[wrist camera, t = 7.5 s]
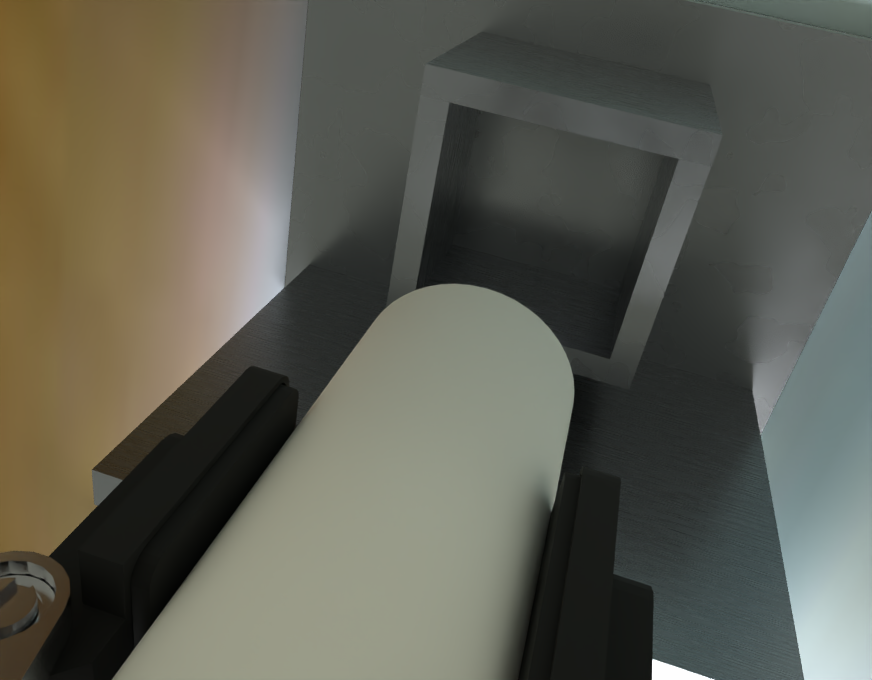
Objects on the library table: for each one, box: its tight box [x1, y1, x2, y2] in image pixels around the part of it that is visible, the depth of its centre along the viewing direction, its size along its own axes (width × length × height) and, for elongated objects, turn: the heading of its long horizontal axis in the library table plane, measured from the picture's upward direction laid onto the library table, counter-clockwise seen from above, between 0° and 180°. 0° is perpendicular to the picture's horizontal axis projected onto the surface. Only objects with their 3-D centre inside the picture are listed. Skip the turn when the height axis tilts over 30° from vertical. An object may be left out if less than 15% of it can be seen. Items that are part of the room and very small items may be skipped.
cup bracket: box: [92, 0, 872, 680], centre depth 22 cm, size 15×20×15 cm
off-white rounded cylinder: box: [112, 284, 574, 680], centre depth 9 cm, size 4×4×12 cm
